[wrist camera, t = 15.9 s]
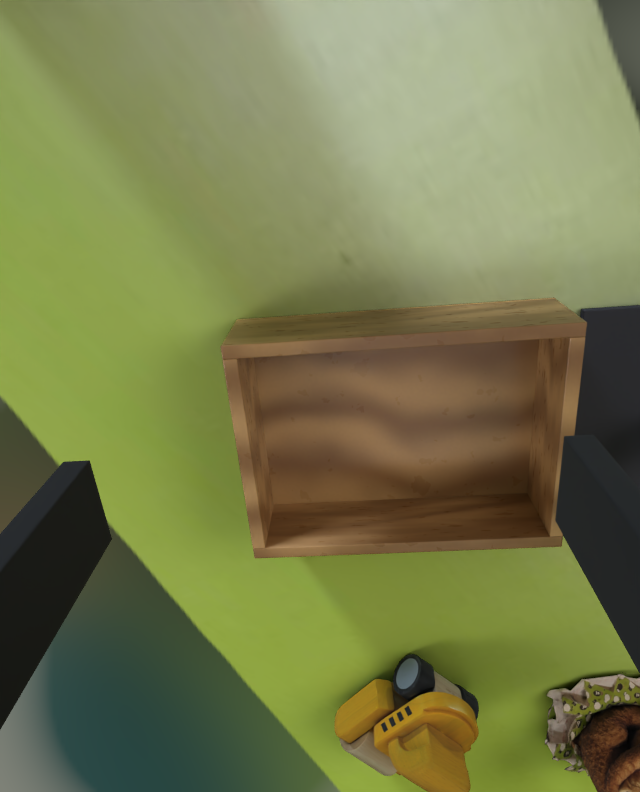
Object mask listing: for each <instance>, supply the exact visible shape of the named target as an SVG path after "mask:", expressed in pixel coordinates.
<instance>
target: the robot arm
mask: <svg viewBox="0 0 640 792" xmlns="http://www.w3.org/2000/svg"><path fill="white" fill-rule="evenodd" d="M555 521H556V523H557V525H558V527H559V528H560V530H561V532H562V534H563V536H564V538H565V539H566V541H567V543H568V545H569V547H570V548H571V550H572V552H573V554H574V556H575V557H576V559H577V561H578V563H579V565H580V566H581V568H582V570H583V572H584V574H585V575H586V577H587V579H588V581H589V583H590V584H591V586H592V588H593V590H594V592H595V593H596V595H597V597H598V599H599V601H600V603H601V604H602V606H603V608H604V610H605V612H606V613H607V615H608V617H609V619H610V621H611V622H612V624H613V626H614V628H615V630H616V631H617V633H618V635H619V637H620V639H621V640H622V642H623V644H624V646H625V648H626V649H627V651H628V653H629V655H630V657H631V659H632V660H633V662H634V664H635V666H636V668H637V669H638V671H639V673H640V489H639V488H638V486H637V485H636V484H635V483H634V482H633V480H632V479H631V478H630V477H629V476H628V475H627V473H626V472H625V471H624V470H623V469H622V467H621V466H620V465H619V464H618V463H617V462H616V460H615V459H614V458H613V457H612V456H611V454H610V453H609V452H608V451H607V450H606V449H605V447H604V446H603V445H602V444H601V443H600V441H599V440H598V439H597V438H596V437H595V436H594V435H575V436H564V442H563V452H562V461H561V471H560V480H559V490H558V499H557V509H556V518H555ZM111 540H112V538H111V534H110V531H109V527H108V524H107V520H106V517H105V513H104V510H103V506H102V503H101V499H100V496H99V492H98V489H97V485H96V482H95V478H94V475H93V471H92V468H91V464H90V461H72V462H63V463H62V464H61V465H60V466H59V468H58V469H57V470H56V471H55V472H54V473H53V474H52V476H51V477H50V478H49V479H48V480H47V481H46V482H45V484H44V485H43V486H42V487H41V488H40V489H39V490H38V492H37V493H36V494H35V495H34V496H33V497H32V498H31V500H30V501H29V502H28V503H27V504H26V505H25V506H24V508H23V509H22V510H21V511H20V512H19V513H18V514H17V516H16V517H15V518H14V519H13V520H12V521H11V522H10V524H9V525H8V526H7V527H6V528H5V529H4V530H3V531H2V533H1V534H0V729H1V727H2V726H3V724H4V722H5V721H6V719H7V717H8V716H9V714H10V712H11V710H12V709H13V707H14V705H15V703H16V702H17V700H18V698H19V697H20V695H21V693H22V691H23V690H24V688H25V686H26V685H27V683H28V681H29V680H30V678H31V676H32V675H33V673H34V671H35V669H36V668H37V666H38V664H39V663H40V661H41V659H42V657H43V656H44V654H45V652H46V651H47V649H48V647H49V646H50V644H51V642H52V640H53V639H54V637H55V635H56V634H57V632H58V630H59V629H60V627H61V625H62V623H63V622H64V620H65V618H66V617H67V615H68V613H69V611H70V610H71V608H72V606H73V604H74V603H75V601H76V599H77V598H78V596H79V594H80V593H81V591H82V589H83V588H84V586H85V584H86V582H87V581H88V579H89V577H90V576H91V574H92V572H93V570H94V569H95V567H96V565H97V564H98V562H99V560H100V559H101V557H102V555H103V553H104V552H105V550H106V548H107V547H108V545H109V543H110V541H111Z"/></svg>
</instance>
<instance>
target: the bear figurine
mask: <svg viewBox="0 0 640 792" xmlns="http://www.w3.org/2000/svg"><path fill="white" fill-rule="evenodd" d="M630 674H631V673H630ZM547 696H548V697H550V698H552V699H553V704H552V706H551V708H552V707H553V706H554V709H555V713H556V720H554V719H549V720H548V724H549V727H548V731H547V738H546V740H545V745H546V744H547V745H548V747H549V749H550V750H551V752H552V754H553V758H552V759H556V760H557V761H559V760H560V759H561V760H566V761H568V762H569V763H571V764H572V766H570V767H568V768H565V770H568V771H576V772H581V771H583V770H585V771H586V772H587V774H588V776H590V777H591V780H592V782H593V783H594V785H595V787H596V790H597V792H640V678H638V679H635V678H629V677H626V676H624V675H621V674H619V675H615V676H608V677H599V678H591V679H581V681H580V682H579V683H578V684H577V685H576V686H575V687H574V688H573V689H572V690H571V691H570V690H567V689H565V688H563V689H555V690H550V691H549V692H548V694H547ZM551 708H550V709H549V712H548V717H549V714H550V711H551Z"/></svg>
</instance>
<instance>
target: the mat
mask: <svg viewBox="0 0 640 792" xmlns="http://www.w3.org/2000/svg"><path fill="white" fill-rule="evenodd" d="M580 317H581V318H582V319H583V320H585V321H586V322H587V327H586V336H585V346H584V355H583V363H582V372H581V381H580V390H579V399H578V407H577V416H576V425H575V434H574V436H575V435H594V436H595V437H596V438H597V439H598V440H599V441H600V443H601V444H602V445H603V446H604V447H605V449H606V450H607V451H608V452H609V453H610V454H611V456H612V457H613V458H614V459H615V460H616V462H617V463H618V464H619V465H620V466H621V467H622V469H623V470H624V471H625V472H626V473H627V475H628V476H629V477H630V478H631V479H632V480H633V482H634V483H635V484H636V485H637V486H638V488H639V489H640V305H633V306H618V307H603V308H588V309H581V315H580Z"/></svg>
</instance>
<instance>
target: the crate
mask: <svg viewBox="0 0 640 792" xmlns="http://www.w3.org/2000/svg"><path fill="white" fill-rule="evenodd" d="M586 327H587V322H586V321H585V320H583V319H582V318H581V317H579V316H578V315H576V314H575V313H574V312H572V311H571V310H570V309H568V308H567V307H566V306H564V305H563V304H562V303H560V302H559V301H558V300H556V298H542V299H527V300H512V301H498V302H483V303H469V304H454V305H439V306H425V307H410V308H395V309H381V310H366V311H352V312H337V313H322V314H308V315H293V316H279V317H264V318H249V319H237V320H236V322H235V323H234V325H233V327H232V328H231V330H230V332H229V333H228V335H227V337H226V338H225V340H224V342H223V343H222V345H221V353H222V359H223V365H224V372H225V378H226V384H227V390H228V396H229V403H230V409H231V415H232V421H233V427H234V434H235V440H236V446H237V452H238V458H239V464H240V471H241V477H242V483H243V489H244V495H245V502H246V508H247V514H248V520H249V526H250V533H251V539H252V545H253V551H254V557H255V558H275V557H301V556H327V555H353V554H379V553H405V552H431V551H458V550H484V549H510V548H536V547H561V546H562V538H563V534H562V532H561V530H560V528H559V527H558V525H557V523H556V521H555V518H556V509H557V499H558V490H559V480H560V471H561V461H562V452H563V442H564V436H574V434H575V425H576V416H577V407H578V399H579V390H580V381H581V372H582V363H583V355H584V346H585V336H586Z"/></svg>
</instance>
